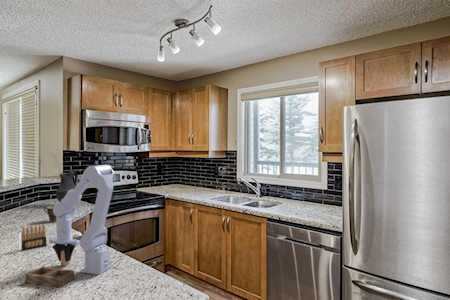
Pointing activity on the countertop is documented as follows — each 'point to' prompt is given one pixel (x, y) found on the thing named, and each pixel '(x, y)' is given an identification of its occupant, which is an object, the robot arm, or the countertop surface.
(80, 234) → the chocolate bar
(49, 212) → the ceramic cup
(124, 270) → the countertop surface
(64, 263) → the clay rod
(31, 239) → the ammunition clip
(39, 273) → the rack
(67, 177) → the pitcher
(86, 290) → the countertop surface
